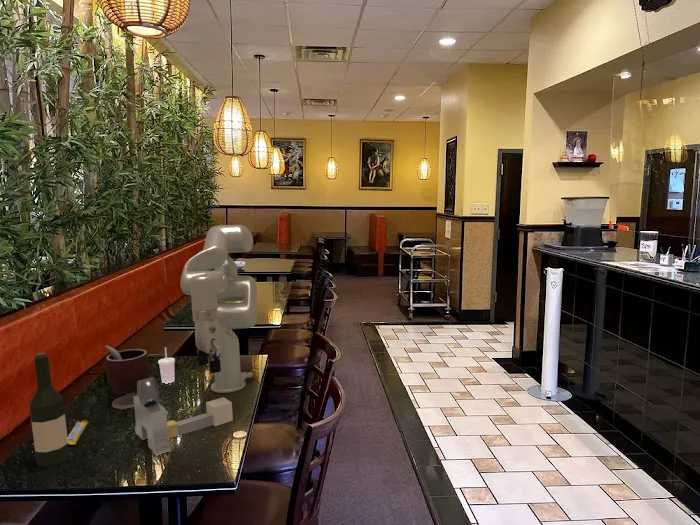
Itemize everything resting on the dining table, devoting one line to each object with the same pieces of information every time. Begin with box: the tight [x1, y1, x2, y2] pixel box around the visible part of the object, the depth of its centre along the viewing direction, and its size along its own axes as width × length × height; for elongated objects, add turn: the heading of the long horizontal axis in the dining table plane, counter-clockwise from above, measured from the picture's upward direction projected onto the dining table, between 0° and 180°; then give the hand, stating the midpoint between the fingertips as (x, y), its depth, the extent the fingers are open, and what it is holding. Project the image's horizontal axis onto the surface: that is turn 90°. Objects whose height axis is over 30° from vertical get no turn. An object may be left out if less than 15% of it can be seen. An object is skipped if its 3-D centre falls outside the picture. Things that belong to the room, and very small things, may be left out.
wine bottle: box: [28, 352, 71, 468], centre depth 139 cm, size 8×8×30 cm
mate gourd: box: [104, 345, 151, 410], centre depth 178 cm, size 16×14×20 cm
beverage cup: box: [157, 347, 176, 384], centre depth 196 cm, size 6×6×14 cm
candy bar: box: [67, 419, 90, 446], centre depth 155 cm, size 17×4×2 cm, turn 13°
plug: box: [167, 396, 234, 440], centre depth 157 cm, size 21×6×6 cm, turn 129°
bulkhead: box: [133, 376, 172, 457], centre depth 147 cm, size 4×19×19 cm, turn 39°
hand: (209, 368), depth 159 cm, fingers open, 9 cm apart
